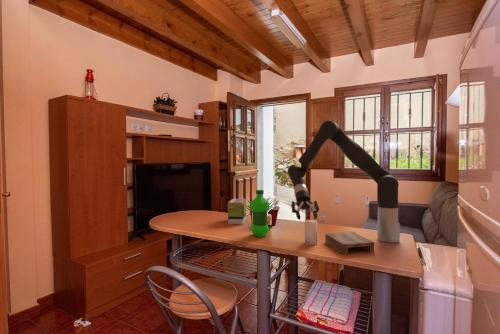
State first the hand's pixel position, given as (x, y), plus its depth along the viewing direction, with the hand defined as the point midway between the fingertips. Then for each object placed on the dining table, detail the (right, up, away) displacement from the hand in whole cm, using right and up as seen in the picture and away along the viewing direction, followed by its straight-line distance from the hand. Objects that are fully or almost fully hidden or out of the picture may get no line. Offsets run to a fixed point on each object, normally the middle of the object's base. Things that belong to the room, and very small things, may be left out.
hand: (307, 218), depth 135 cm
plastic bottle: (-24, -11, +8) cm, 28 cm away
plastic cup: (-16, -10, +30) cm, 36 cm away
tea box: (-38, -10, +39) cm, 56 cm away
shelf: (+17, -11, -11) cm, 23 cm away
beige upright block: (0, -11, -5) cm, 12 cm away
